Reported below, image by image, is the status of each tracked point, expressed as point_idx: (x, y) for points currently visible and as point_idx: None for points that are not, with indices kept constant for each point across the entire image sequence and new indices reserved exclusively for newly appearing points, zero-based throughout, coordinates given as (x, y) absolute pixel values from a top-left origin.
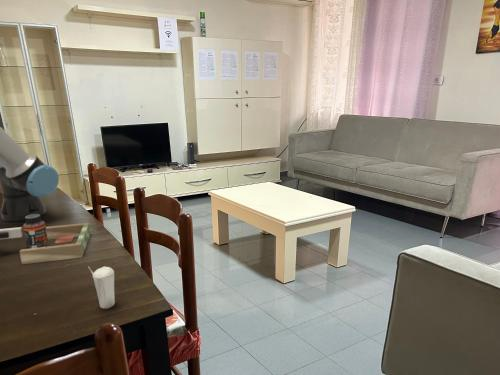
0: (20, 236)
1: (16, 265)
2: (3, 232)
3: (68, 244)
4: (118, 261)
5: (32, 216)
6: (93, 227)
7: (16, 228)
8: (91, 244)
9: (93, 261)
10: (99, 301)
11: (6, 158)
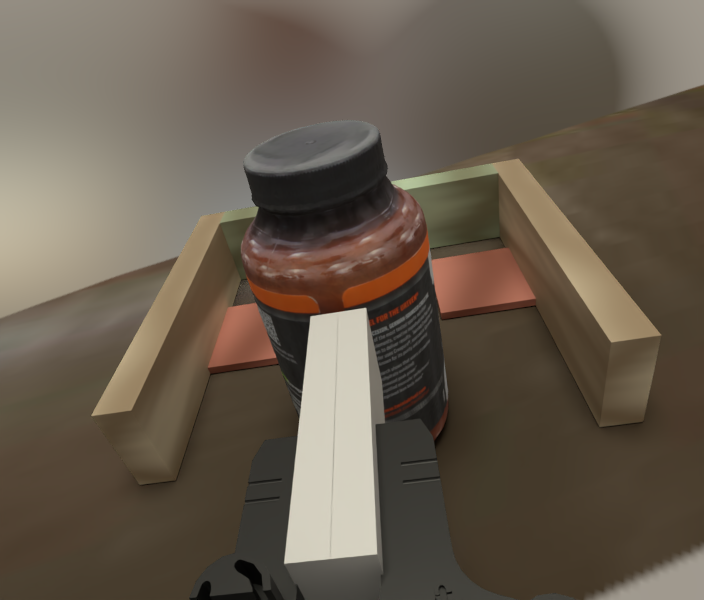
0: (381, 385)
1: (665, 454)
2: (378, 474)
3: (512, 186)
4: (560, 148)
5: (330, 136)
6: (139, 284)
7: (342, 341)
8: None
9: (563, 188)
10: None
11: None
